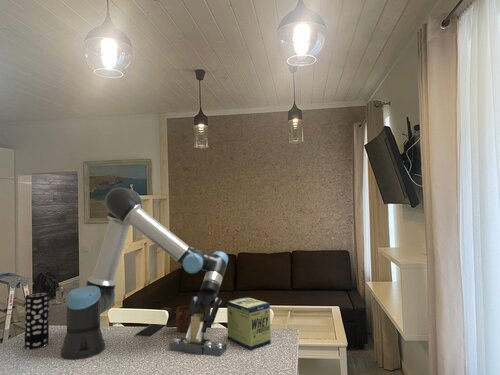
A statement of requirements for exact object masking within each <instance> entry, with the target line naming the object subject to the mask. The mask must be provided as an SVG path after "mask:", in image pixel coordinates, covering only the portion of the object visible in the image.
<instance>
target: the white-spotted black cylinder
mask: <svg viewBox="0 0 500 375" xmlns="http://www.w3.org/2000/svg"><path fill="white" fill-rule="evenodd" d="M24 303H25V304H24V307H25V309H24V310H25V311H24V344H23V345H24V349H26V350H35V349H34V348H36V349H40V348H39V347H41V348H43V347H42V346H44V345H46V344H47V345H49V343H48V342H49V339H50V338H49V336H50V333H49V332H50V331H49V330H50V292H37V293H36V292H35V293H29V294H27V295H25V302H24ZM47 345H46V346H47ZM44 347H45V346H44Z"/></svg>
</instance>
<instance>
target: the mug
mask: <svg viewBox="0 0 500 375" xmlns="http://www.w3.org/2000/svg"><path fill="white" fill-rule="evenodd" d="M189 306H190V305H183V306H178V307H177V308H176V316H175V322H176V331H177V332H180V333H187V332H188V330H187V326H188V324H189V322H188V321H187V319H186V315H187V312H188V309H189Z"/></svg>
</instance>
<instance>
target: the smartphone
mask: <svg viewBox="0 0 500 375" xmlns="http://www.w3.org/2000/svg"><path fill="white" fill-rule="evenodd" d="M166 328H167V324H163V323H161V324H160V323H151V324H149V325H148V326H146V327H144V328H143V329H141V330H140V331H137V333H135V334H133V338H141V339H142V338H145V339H150V338H152V337H153V336H155V335H156V334H159V333H160V332H161V331H164V330H165V329H166Z"/></svg>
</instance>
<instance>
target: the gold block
mask: <svg viewBox="0 0 500 375" xmlns="http://www.w3.org/2000/svg"><path fill="white" fill-rule="evenodd" d="M204 316H205V313H199V314H194V315H192V316H191V344H197V345H203V344H204V339H205V333H203V335H202V338H201V342H198V341H197V339H196V337H197V334H198V331H199V328H200V325H201V322H204V321H203V320H204Z"/></svg>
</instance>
